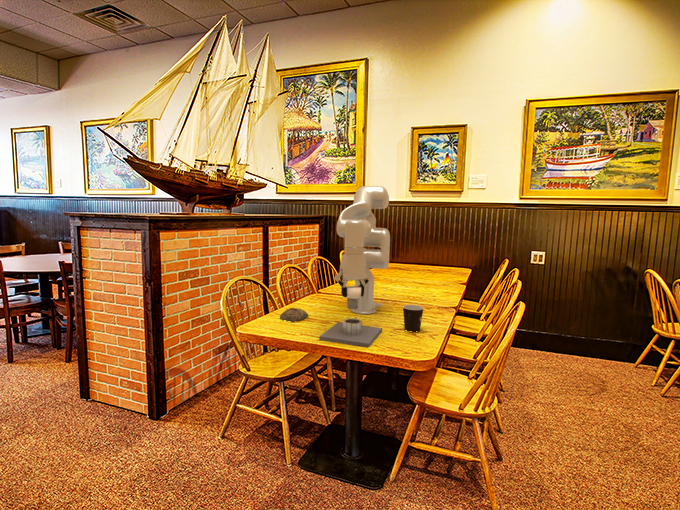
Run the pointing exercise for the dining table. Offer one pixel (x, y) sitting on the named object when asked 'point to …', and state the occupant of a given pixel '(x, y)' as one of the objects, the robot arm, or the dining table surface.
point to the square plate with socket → (351, 333)
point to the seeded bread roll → (294, 314)
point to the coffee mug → (412, 317)
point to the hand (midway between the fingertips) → (352, 295)
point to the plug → (353, 296)
